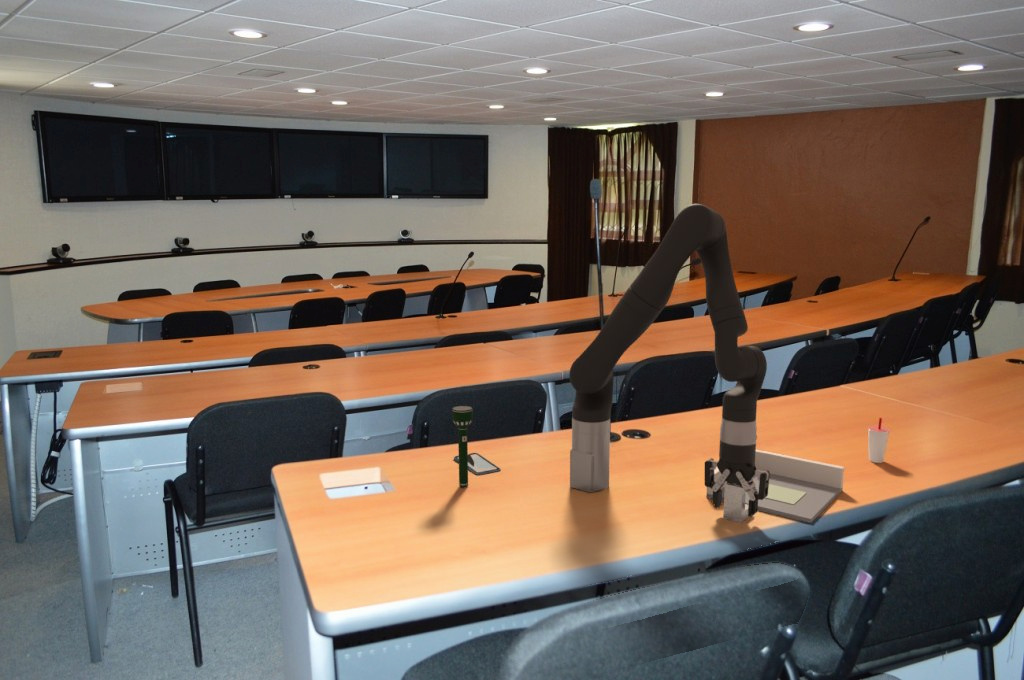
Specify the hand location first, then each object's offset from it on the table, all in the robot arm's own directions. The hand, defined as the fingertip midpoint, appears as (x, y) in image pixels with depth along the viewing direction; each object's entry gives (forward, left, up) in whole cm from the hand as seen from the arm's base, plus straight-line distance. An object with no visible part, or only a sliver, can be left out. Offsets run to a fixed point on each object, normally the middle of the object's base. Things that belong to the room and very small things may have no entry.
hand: (734, 510), depth 165 cm
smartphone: (-8, +68, -3) cm, 69 cm away
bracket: (+2, 0, -2) cm, 3 cm away
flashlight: (-22, +60, -2) cm, 64 cm away
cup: (+60, -15, -2) cm, 62 cm away
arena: (+20, -2, -2) cm, 20 cm away
